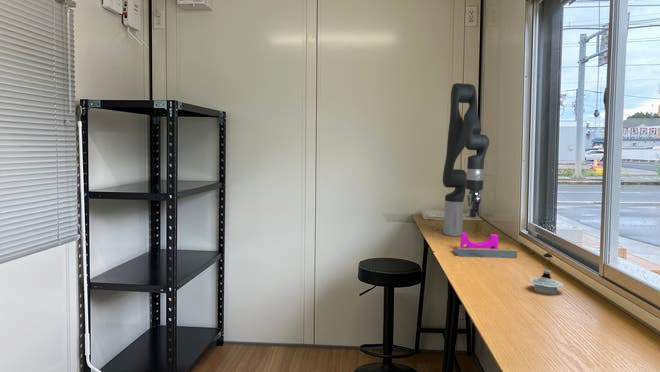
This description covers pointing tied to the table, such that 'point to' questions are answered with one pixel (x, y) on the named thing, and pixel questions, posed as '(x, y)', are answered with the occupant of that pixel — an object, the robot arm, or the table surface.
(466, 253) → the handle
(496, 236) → the toy block
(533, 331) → the table surface
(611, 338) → the table surface
